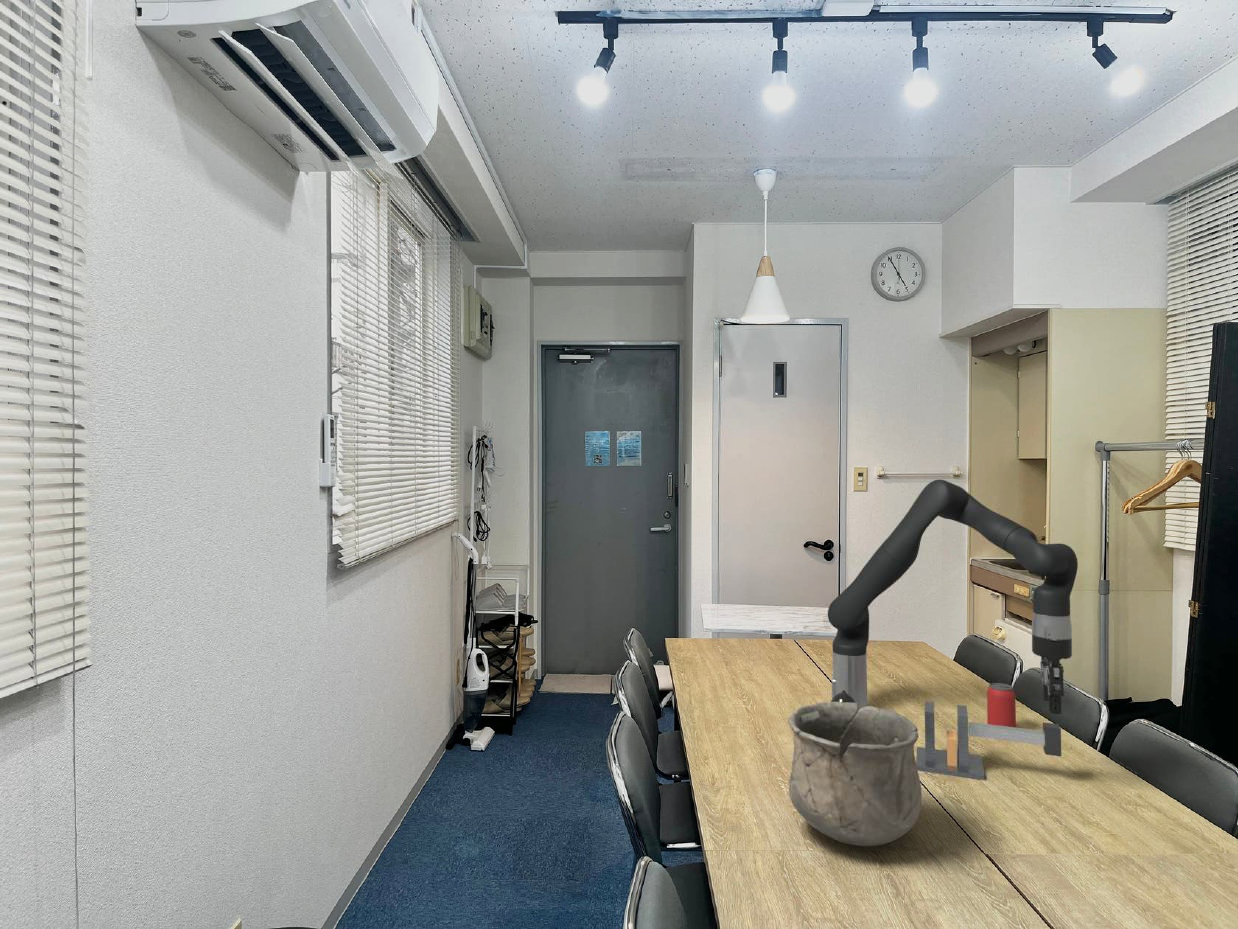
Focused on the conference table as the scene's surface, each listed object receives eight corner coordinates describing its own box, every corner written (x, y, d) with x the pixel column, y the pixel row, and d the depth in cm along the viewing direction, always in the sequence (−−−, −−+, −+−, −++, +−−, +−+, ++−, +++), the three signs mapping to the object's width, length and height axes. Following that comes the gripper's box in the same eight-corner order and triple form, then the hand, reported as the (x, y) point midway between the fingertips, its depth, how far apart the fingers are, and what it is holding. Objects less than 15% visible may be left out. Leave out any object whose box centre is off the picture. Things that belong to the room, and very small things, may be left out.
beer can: (1019, 737, 179) (1019, 690, 180) (992, 735, 181) (991, 689, 181) (1011, 728, 186) (1010, 682, 186) (984, 726, 187) (983, 681, 187)
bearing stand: (915, 770, 161) (915, 713, 161) (917, 750, 172) (916, 697, 172) (984, 780, 155) (983, 721, 155) (981, 759, 166) (980, 705, 166)
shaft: (969, 744, 160) (968, 718, 160) (968, 739, 163) (968, 713, 163) (1061, 756, 153) (1060, 729, 153) (1059, 751, 156) (1058, 724, 156)
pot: (846, 882, 117) (844, 754, 117) (763, 819, 139) (761, 711, 139) (953, 849, 127) (951, 731, 127) (861, 795, 149) (859, 694, 149)
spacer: (947, 765, 161) (946, 739, 161) (947, 755, 166) (946, 730, 166) (957, 766, 160) (956, 740, 160) (956, 756, 165) (955, 731, 165)
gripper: (1028, 625, 163) (1028, 695, 163) (1036, 639, 150) (1036, 715, 150) (1066, 628, 160) (1066, 699, 160) (1077, 643, 147) (1078, 720, 147)
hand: (1052, 707), depth 155 cm, fingers open, 8 cm apart
